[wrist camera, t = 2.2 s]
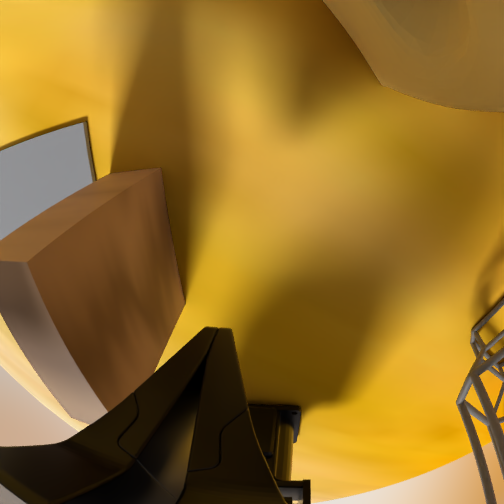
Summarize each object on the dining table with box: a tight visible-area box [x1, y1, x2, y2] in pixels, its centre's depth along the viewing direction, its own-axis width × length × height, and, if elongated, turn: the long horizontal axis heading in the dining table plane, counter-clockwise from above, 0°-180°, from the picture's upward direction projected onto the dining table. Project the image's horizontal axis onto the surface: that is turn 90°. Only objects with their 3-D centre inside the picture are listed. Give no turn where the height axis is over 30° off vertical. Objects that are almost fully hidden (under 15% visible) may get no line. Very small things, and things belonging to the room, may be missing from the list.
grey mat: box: [0, 122, 96, 240], centre depth 17 cm, size 14×12×1 cm
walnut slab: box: [0, 168, 185, 424], centre depth 12 cm, size 8×3×9 cm, turn 3°
